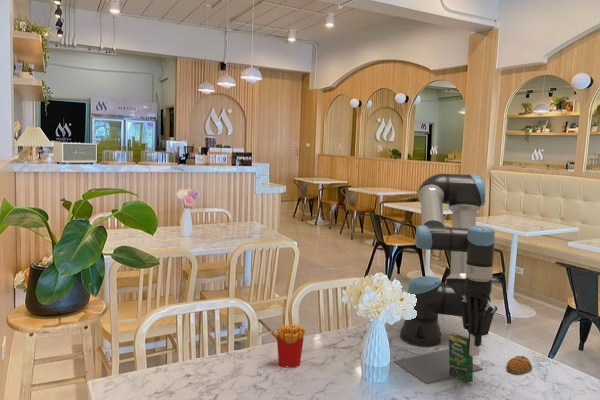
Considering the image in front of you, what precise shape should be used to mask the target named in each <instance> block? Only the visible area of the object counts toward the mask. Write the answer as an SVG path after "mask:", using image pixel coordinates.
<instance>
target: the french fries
mask: <svg viewBox="0 0 600 400" xmlns="http://www.w3.org/2000/svg"><path fill="white" fill-rule="evenodd" d="M276 329H277V335H276V344H277V345H276V346H277V356H278V357H277V358H278V359H277V360H278V366H279V365H280V366H279V367H281V366H282V367H281V368H286V367H285V366H288V367H287V368H298V367H300V366H299V365H301V360H302V359H301V358H302V352H303V346H304V340H305V339H304V335H305V333H306V327H305V326H301V325H300V324H299V325H298V324H295V323H294V324H292V323H290V325H287V324H283V325H281V326H277V327H276ZM297 366H298V367H297Z"/></svg>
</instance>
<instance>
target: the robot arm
mask: <svg viewBox="0 0 600 400" xmlns="http://www.w3.org/2000/svg"><path fill="white" fill-rule="evenodd" d="M417 199H418V201H419V204H420V213H421V214H420V219H421V224H420V225H418V226H417V227H416V229H415V247H416V248H418V249H422V250H426V251H427V250H428V251H429V250H433V251H447V252H450V273H449V275H448V276H447V277H446V278H445V282H442V280H441V279H440V278H439V277H435V276H429V275H427V276H425V275H424V276H417V277H414V278H412V279H410V281H409V282H408V284H407V285H408V286H407V294H408V293H410V294H415V295H416V298H417V303H416V306H415V307H414V309H415V310H416V311H417V316H416V318H414V319H411V320H405V319H404V322H403V324H402V327H401V328H400V335H399V336H400V338H401V340H402V341H404V342H405V343H408V344H411V345H415V346H418V347H419V346H420V347H435V346H438V345H440V344H441V343H442V332H441V329H440V328H441V327H440V324H439V315H444V316H452V317H453V316H454V317H461V318H462V319H461V320H462V328H463V329H464V330H467V332H468V341H469V343H470V349H469V355H470V356H472V357H473V358H474V357H476V356H477V357H478V356H480V347H481V346H482V341H483V340H482V338H483V336H487V335H489V332H490V328H491V326H492V325H491V324H492V321H493V319H494V315H495V313H496V312H497V310H498V307H497V306H494V305H493V304H492V302H491V300H492V299H491V297H490V295H491V293H492V285H493V283H492V282H493V281H492V279H493V273H494V270H493V269H494V255H495V253H494V251H495V242H496V238H495V229H494V228H493V227H488V226H482V225H481V226H480V225H477V214H478V212H479V211H481V207H482V206H484V205H485V203H486V186H485V183H484V180H483V178H482V177H481V176H479V175H473V174H469V173H468V174H456V173H455V174H454V173H437V174H434V175H432V176H430V177H427V178H426V179H425V180H424V181H423V182H422V183H421V184H420V185H419V188H418V191H417ZM443 204H447V205H448V210H449V211H451V212H452V221H451V222H452V223H451V227H449V226H447V227H446V226H445V224H446V223H445V217H444V209H443V208H444V207H443Z"/></svg>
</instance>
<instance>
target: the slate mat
mask: <svg viewBox="0 0 600 400" xmlns="http://www.w3.org/2000/svg"><path fill="white" fill-rule="evenodd" d="M393 362H394V363H395V364H396V365H397V366H399V367H400V368H402V369H403V370H404V371H406V372H408V373H410V374H411V375H412V376H413V377H415V378H417V379H418V380H419V381H420V382H422V383H424V384H425V385H429V384H433V383H437V382H441V381H445V380H448V379H452V378H453V379H454V378H456V377H455V376H453V375H451V374H449V348H448V349H447V348H446V349H443V350H437V351H433V352H429V353H428V352H427V353H424V354H419V355H415V356H411V357H407V358H401V359H396V360H393ZM483 370H484V369H483V368H482V367H481V366H479V365H477V364H475V363H473V373H475V372H476V373H477V372H479V371H483Z"/></svg>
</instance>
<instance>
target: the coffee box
mask: <svg viewBox="0 0 600 400" xmlns="http://www.w3.org/2000/svg"><path fill="white" fill-rule="evenodd" d="M468 339H469V337H466V336H463V335H461V334H458V333H456V332H454V333H453V332H452V333H449V334H448V350H449V374H451V375H453V376H455V377H454V378H456V379H458V380H460V381H462V382H464V383H466V384H469V383H470V384H471V383H473V382H474V381H473V379H474V377H473V375H474V372H473V364H474V363H473V362H474V356H473V357H472V356H470V355H469V349H470V343H469V341H468Z"/></svg>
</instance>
